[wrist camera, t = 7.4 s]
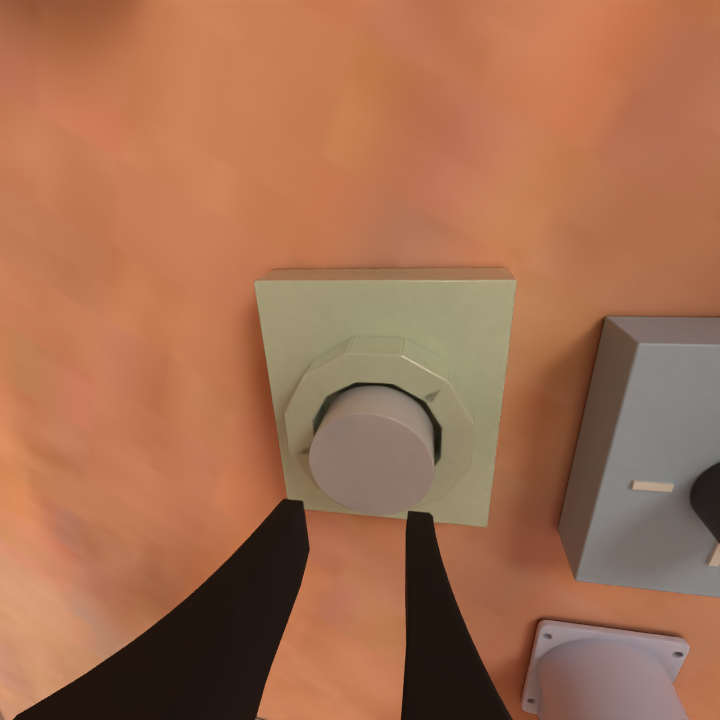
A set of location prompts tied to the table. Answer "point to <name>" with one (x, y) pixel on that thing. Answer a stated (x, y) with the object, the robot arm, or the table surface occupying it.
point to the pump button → (374, 451)
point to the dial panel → (646, 458)
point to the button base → (392, 367)
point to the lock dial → (708, 500)
